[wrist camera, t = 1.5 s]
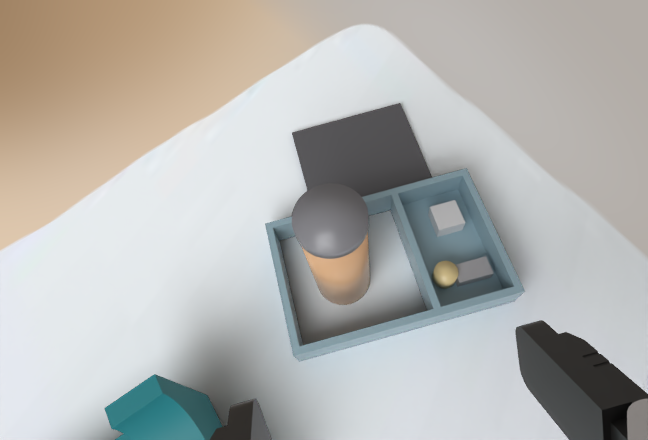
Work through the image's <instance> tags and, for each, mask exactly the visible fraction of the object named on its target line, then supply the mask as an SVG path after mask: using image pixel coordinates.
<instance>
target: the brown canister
mask: <svg viewBox="0 0 648 440" xmlns="http://www.w3.org/2000/svg"><path fill="white" fill-rule="evenodd" d="M292 228H293V231H294V233H295V236H296V238H297V240H298V242H299V244H300V245H301V246H302V249H303V251H304V254H305V256H306V259H307V261H308V264H309V266H310V268H311V271H312V273H313V276H314V278H315V281H316V283H317V286H318V288H319V290H320V292H321V294H322V295H323V296H324V297H325V298H326V299H327V300H328V301H330V302H332V303H335V304H339V305H347V304H352V303H354V302H356V301H358V300H359V299H361V298H362V297H363V296H364V294H365V293H366V292H367V290H368V287H369V283H370V270H369V248H368V228H369V215H368V209H367V206H366V203H365V201H364V200H363V198H362V197H361V196H360V195H359V194H358V193H357V192H356V191H355V190H353V189H351V188H350V187H347V186H345V185H341V184H334V183H329V184H323V185H319V186H316V187H314V188H312V189H310V190H308V191H307V192H306V193H304V194H303V195H302V196H301V197H300V198H299V200H298V201H297V203H296V204H295V207H294V209H293V212H292Z"/></svg>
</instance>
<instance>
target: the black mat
mask: <svg viewBox="0 0 648 440" xmlns="http://www.w3.org/2000/svg"><path fill="white" fill-rule="evenodd" d="M292 135H293V138H294V142H295V146H296V149H297V153H298V157H299V160H300V164H301V168H302V171H303V175H304V179H305V182H306V186H307V190H310V189H312V188H314V187H316V186H319V185H323V184H329V183H334V184H341V185H345V186H347V187H350V188H351V189H353V190H355V191H356V192H357V193H358V194H359V195H360V196H361V197H364V196H368V195H371V194H375V193H378V192H382V191H386V190H389V189H393V188H396V187H400V186H404V185H407V184H411V183H415V182H418V181H422V180H425V179H429V178H432V177H431V174H430V172H429V170H428V167H427V165H426V162H425V160H424V158H423V155H422V153H421V151H420V148H419V146H418V144H417V141H416V139H415V137H414V134H413V132H412V130H411V127H410V125H409V123H408V120H407V118H406V116H405V113H404V111H403V109H402V106H401V104H400V103H399V104H395V105H392V106H388V107H384V108H381V109H377V110H373V111H370V112H366V113H362V114H359V115H355V116H351V117H348V118H344V119H340V120H337V121H333V122H330V123H326V124H322V125H319V126H315V127H311V128H308V129H304V130H300V131H297V132H293V133H292Z"/></svg>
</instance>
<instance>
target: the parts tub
mask: <svg viewBox="0 0 648 440" xmlns="http://www.w3.org/2000/svg"><path fill="white" fill-rule="evenodd" d="M362 198H363V200H364V201H365V203H366V206H367V209H368V215H369V216H370V215H374V214H377V213H381V212H385V211H388V210H391V213H392V215H393V218H394V221H395V224H396V226H397V229H398V232H399V235H400V237H401V240H402V243H403V246H404V248H405V251H406V254H407V257H408V259H409V262H410V265H411V268H412V270H413V273H414V276H415V279H416V281H417V284H418V287H419V290H420V292H421V295H422V298H423V301H424V303H425V306H426V309H427V311H424V312H421V313H417V314H414V315H410V316H406V317H403V318H399V319H396V320H392V321H389V322H385V323H381V324H378V325H374V326H371V327H367V328H364V329H360V330H356V331H353V332H349V333H346V334H342V335H339V336H335V337H331V338H328V339H324V340H321V341H317V342H314V343H310V344H306V345H303V343H302V338H301V334H300V329H299V325H298V321H297V316H296V312H295V307H294V303H293V299H292V294H291V290H290V285H289V281H288V276H287V272H286V268H285V263H284V259H283V254H282V250H281V246H280V240H283V239H287V238H291V237H294V236H295V233H294V231H293V228H292V216H291V217H288V218H284V219H281V220H277V221H273V222H270V223H266V224H265V225H266V230H267V235H268V239H269V244H270V249H271V253H272V258H273V263H274V267H275V272H276V277H277V281H278V286H279V291H280V295H281V300H282V305H283V309H284V314H285V319H286V323H287V328H288V333H289V337H290V342H291V347H292V351H293V356H294V357H295V358H296V359H297V360H298V361H303V360H306V359H310V358H314V357H317V356H321V355H324V354H328V353H331V352H335V351H339V350H342V349H346V348H349V347H353V346H356V345H360V344H364V343H367V342H371V341H374V340H378V339H381V338H385V337H389V336H392V335H396V334H399V333H403V332H406V331H410V330H413V329H417V328H421V327H424V326H428V325H431V324H435V323H438V322H442V321H446V320H449V319H453V318H456V317H460V316H463V315H467V314H471V313H474V312H478V311H481V310H485V309H488V308H492V307H496V306H499V305H503V304H506V303H510V302H513V301H515V300H516V299H517V298H518V297H519V296H520V295H521V294H523V293H524V292H525V291H524V288H523V286H522V284H521V282H520V280H519V278H518V276H517V274H516V272H515V270H514V267H513V265H512V263H511V261H510V259H509V257H508V255H507V253H506V251H505V248H504V246H503V244H502V242H501V240H500V238H499V236H498V234H497V232H496V229H495V227H494V225H493V223H492V221H491V219H490V217H489V215H488V213H487V210H486V208H485V206H484V204H483V202H482V200H481V198H480V196H479V194H478V191H477V189H476V187H475V185H474V183H473V181H472V179H471V177H470V175H469V172H468V170H467V168H465V169H462V170H458V171H454V172H451V173H447V174H444V175H440V176H436V177H433V178H429V179H425V180H422V181H418V182H415V183H411V184H407V185H404V186H400V187H396V188H393V189H389V190H386V191H382V192H378V193H375V194H371V195H368V196H364V197H362Z"/></svg>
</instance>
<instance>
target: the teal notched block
mask: <svg viewBox="0 0 648 440" xmlns="http://www.w3.org/2000/svg"><path fill="white" fill-rule="evenodd" d="M105 411H106V414H107V417H108V419H109V422H110V425H111V428H112V429H115V430H118V431H120V432H122V433H124V434H123V435H121V436H120V437H118V438H117V439H115V440H210V438H211V437H212V435H213V433H214V432H215V430H216V429H217V428H220V427H222V425H221V423H220V420H219V418H218V416H217V414H216V412H215V410H214V408H213V406H212V404H211V402H210V400H209V398H208V396H207V395H205V394H203V393H200V392H198V391H195V390H193V389H190V388H188V387H185V386H183V385H180V384H178V383H175V382H173V381H170V380H168V379H165V378H163V377H160V376H158V375H155V374H154V375H153V376H151V377H150V378H148V379H147V380H145V381H144V382H142V383H141V384H139V385H138V386H137V387H135V388H134V389H132V390H131V391H129V392H128V393H126V394H125V395H123V396H122V397H120V398H119V399H117V400H116V401H115V402H113V403H112V404H110V405H109V406H107V407H106V408H105Z"/></svg>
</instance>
